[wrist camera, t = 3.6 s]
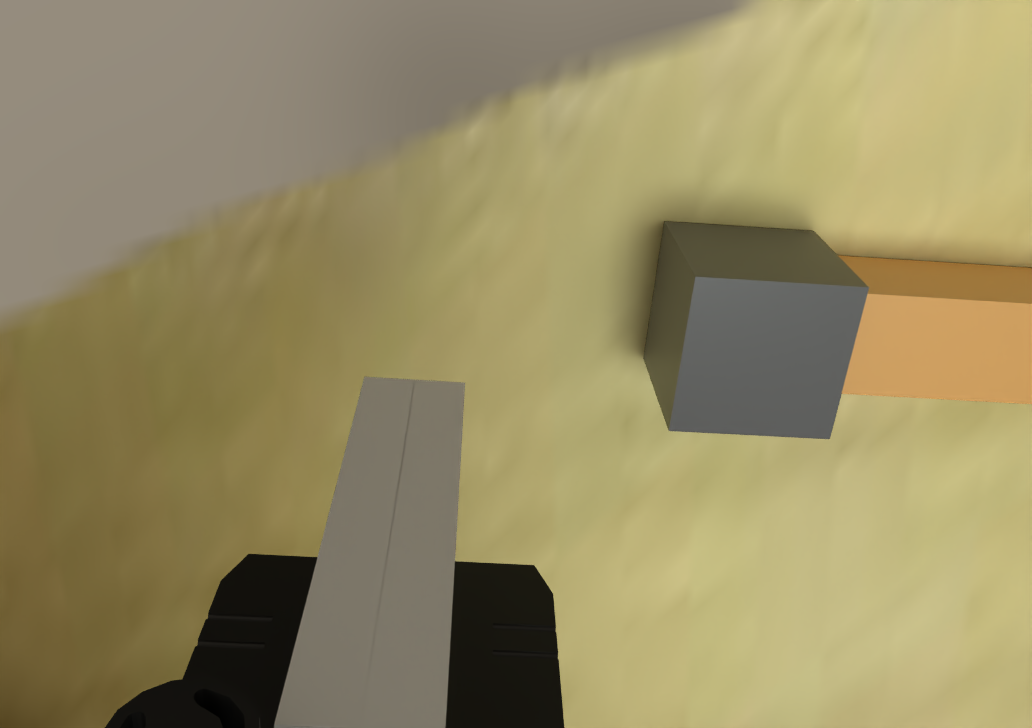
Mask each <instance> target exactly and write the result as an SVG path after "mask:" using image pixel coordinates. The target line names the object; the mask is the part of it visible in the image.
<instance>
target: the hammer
mask: <svg viewBox="0 0 1032 728" xmlns="http://www.w3.org/2000/svg"><path fill="white" fill-rule="evenodd" d="M643 359H644V361H645V364H646V367H647V370H648V373H649V376H650V379H651V381H652V384H653V387H654V390H655V393H656V396H657V399H658V401H659V404H660V407H661V410H662V413H663V416H664V419H665V421H666V424H667V427H668V430H669V431H681V432H700V433H720V434H739V435H759V436H778V437H798V438H817V439H830V436H831V432H832V428H833V425H834V421H835V417H836V413H837V409H838V405H839V401H840V398H841V394H858V395H876V396H894V397H913V398H931V399H949V400H968V401H986V402H1004V403H1022V404H1032V268H1026V267H1010V266H994V265H979V264H963V263H948V262H932V261H917V260H901V259H886V258H870V257H854V256H839V255H837V254H836V253H835V252H834V251H833V250H832V249H831V248H830V247H829V246H828V245H827V244H826V243H825V242H824V241H823V240H822V239H821V238H820V237H819V236H818V235H817V234H816V233H815V232H814V231H805V230H790V229H775V228H760V227H744V226H729V225H714V224H699V223H684V222H668V221H664V227H663V234H662V240H661V247H660V254H659V260H658V267H657V273H656V280H655V286H654V293H653V299H652V306H651V312H650V319H649V325H648V332H647V338H646V345H645V351H644V358H643Z"/></svg>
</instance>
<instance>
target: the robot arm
mask: <svg viewBox="0 0 1032 728" xmlns="http://www.w3.org/2000/svg"><path fill="white" fill-rule="evenodd" d="M464 391H465V383H461V382H445V381H428V380H411V379H394V378H377V377H364V381H363V385H362V388H361V392H360V396H359V400H358V404H357V408H356V412H355V415H354V419H353V423H352V427H351V431H350V435H349V439H348V442H347V446H346V450H345V454H344V458H343V462H342V465H341V469H340V473H339V477H338V481H337V485H336V489H335V492H334V496H333V500H332V504H331V508H330V512H329V516H328V519H327V523H326V527H325V531H324V535H323V539H322V542H321V546H320V550H319V554H318V557H300V556H280V555H259V554H248V555H247V556H246V557H245V558H244V559H243V560H242V561H241V562H240V563H239V564H238V565H237V566H236V567H235V568H234V569H233V570H232V571H231V572H229V573H228V574H227V575H226V576H225V577H224V578H223V579H222V580H221V582H220V584H219V587H218V589H217V592H216V595H215V597H214V600H213V602H212V605H211V607H210V610H209V613H208V619H206V620H205V623H204V625H203V628H202V630H201V633H200V636H199V638H198V645H197V646H195V648H194V651H193V654H192V656H191V659H190V661H189V664H188V666H187V669H186V672H185V674H184V677H183V679H182V680H174V681H170V682H167V683H164V684H162V685H159V686H156V687H154V688H151V689H148V690H146V691H143V692H141V693H140V694H139V695H137V696H136V697H135V698H133V699H132V700H131V701H129V702H128V703H126V704H125V705H124V706H122V707H121V708H120V709H118V710H117V712H116V713H115V714H114V716H113V717H112V718H111V720H110V721H109V723H108V724H107V725H106V727H105V728H564V719H563V708H562V696H561V684H560V672H559V660H558V648H557V636H556V632H555V628H556V624H555V612H554V600H553V593H552V592H551V590H550V589H549V587H548V586H547V584H546V583H545V581H544V580H543V578H542V576H541V575H540V573H539V572H538V570H537V569H536V567H535V566H534V565H517V564H497V563H477V562H456V561H455V550H456V532H457V515H458V497H459V479H460V462H461V444H462V426H463V409H464Z"/></svg>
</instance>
